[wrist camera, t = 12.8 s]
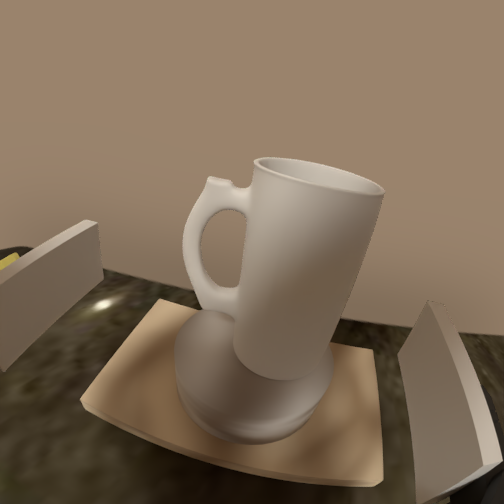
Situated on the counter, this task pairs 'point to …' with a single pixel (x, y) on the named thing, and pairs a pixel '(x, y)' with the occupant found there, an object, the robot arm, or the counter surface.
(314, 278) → the mug
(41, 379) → the counter surface
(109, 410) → the board with round cheese
